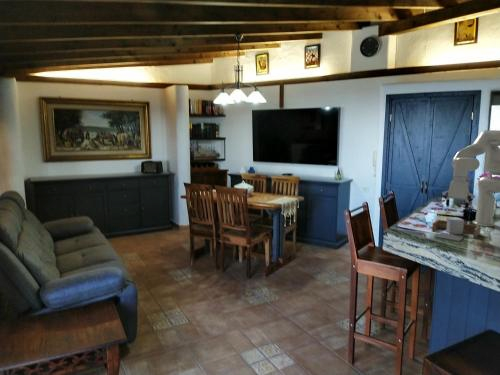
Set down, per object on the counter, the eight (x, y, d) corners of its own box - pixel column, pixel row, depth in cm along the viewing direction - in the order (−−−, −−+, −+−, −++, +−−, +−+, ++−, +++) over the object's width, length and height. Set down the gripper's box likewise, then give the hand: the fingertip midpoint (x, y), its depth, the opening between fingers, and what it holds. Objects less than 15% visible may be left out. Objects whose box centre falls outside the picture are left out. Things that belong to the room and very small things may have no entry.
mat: (441, 233, 227) (441, 232, 227) (464, 237, 220) (464, 236, 220) (436, 237, 218) (436, 236, 218) (459, 241, 211) (459, 240, 211)
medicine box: (459, 232, 229) (461, 218, 228) (462, 234, 225) (464, 220, 224) (445, 232, 230) (447, 218, 229) (449, 234, 226) (450, 219, 224)
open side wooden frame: (436, 227, 241) (437, 219, 240) (478, 234, 227) (479, 226, 226) (432, 231, 232) (432, 223, 231) (475, 238, 217) (476, 230, 217)
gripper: (478, 180, 220) (474, 209, 222) (445, 177, 230) (442, 204, 233) (475, 181, 214) (472, 211, 216) (442, 178, 225) (439, 206, 227)
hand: (456, 207), depth 225 cm, fingers open, 9 cm apart
